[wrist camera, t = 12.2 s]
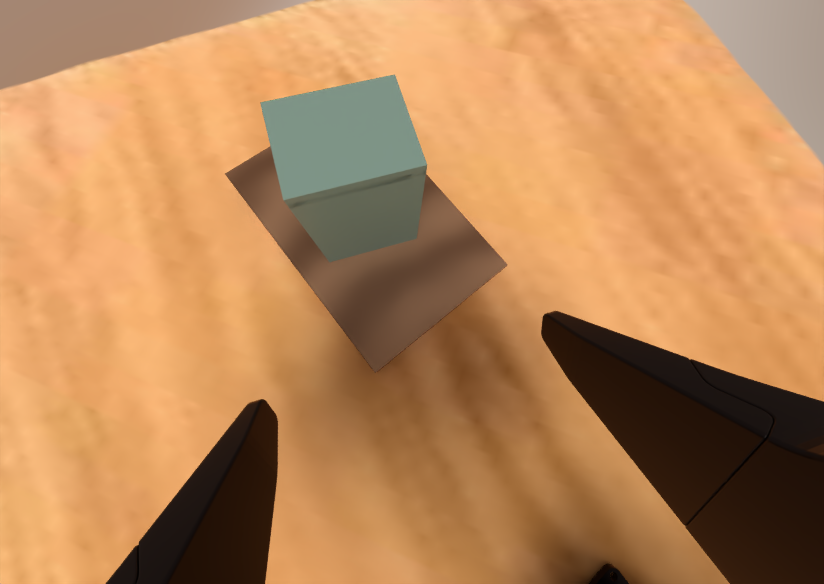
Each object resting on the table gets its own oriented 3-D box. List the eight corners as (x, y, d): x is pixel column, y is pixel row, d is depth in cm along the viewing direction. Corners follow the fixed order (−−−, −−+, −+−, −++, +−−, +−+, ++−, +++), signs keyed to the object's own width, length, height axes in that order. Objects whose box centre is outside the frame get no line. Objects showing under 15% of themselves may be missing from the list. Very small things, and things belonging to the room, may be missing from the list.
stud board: (501, 270, 24) (528, 247, 19) (376, 371, 22) (370, 376, 17) (357, 109, 27) (347, 52, 22) (235, 184, 25) (193, 140, 20)
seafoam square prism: (416, 238, 23) (427, 164, 14) (329, 262, 22) (283, 200, 13) (396, 177, 24) (394, 74, 15) (313, 198, 23) (260, 102, 14)
